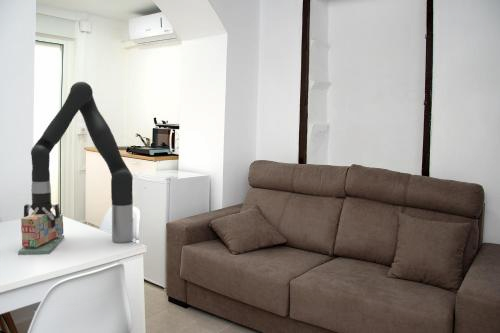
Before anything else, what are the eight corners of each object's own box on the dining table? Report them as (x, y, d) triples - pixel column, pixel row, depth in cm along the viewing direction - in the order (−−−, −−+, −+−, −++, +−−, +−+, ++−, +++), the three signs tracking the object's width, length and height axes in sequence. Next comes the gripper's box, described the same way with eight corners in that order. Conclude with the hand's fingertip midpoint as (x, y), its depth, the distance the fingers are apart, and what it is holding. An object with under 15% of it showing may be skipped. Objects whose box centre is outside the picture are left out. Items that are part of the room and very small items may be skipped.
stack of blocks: (51, 233, 207) (50, 207, 205) (63, 234, 206) (62, 208, 204) (21, 246, 185) (20, 217, 184) (35, 247, 185) (34, 218, 183)
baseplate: (64, 238, 208) (64, 233, 207) (49, 254, 184) (49, 248, 184) (37, 238, 206) (36, 233, 206) (18, 254, 182) (18, 249, 182)
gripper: (61, 189, 197) (61, 225, 199) (26, 189, 195) (28, 226, 197) (56, 192, 189) (57, 229, 191) (20, 192, 187) (22, 230, 189)
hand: (42, 227), depth 194 cm, fingers open, 8 cm apart
